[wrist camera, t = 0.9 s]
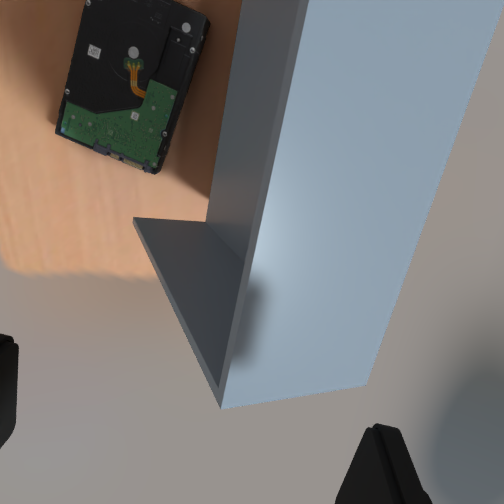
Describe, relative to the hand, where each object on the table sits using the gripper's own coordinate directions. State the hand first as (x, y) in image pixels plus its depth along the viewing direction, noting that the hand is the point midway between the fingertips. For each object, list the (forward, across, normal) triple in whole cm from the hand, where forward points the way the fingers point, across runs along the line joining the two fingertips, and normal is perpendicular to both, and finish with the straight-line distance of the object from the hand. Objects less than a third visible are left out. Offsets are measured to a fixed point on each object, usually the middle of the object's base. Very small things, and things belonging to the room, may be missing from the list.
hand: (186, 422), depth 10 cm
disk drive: (+32, +14, -8) cm, 36 cm away
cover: (+12, +4, -8) cm, 15 cm away
